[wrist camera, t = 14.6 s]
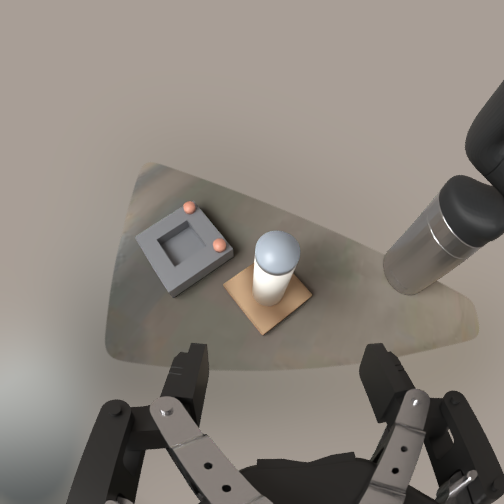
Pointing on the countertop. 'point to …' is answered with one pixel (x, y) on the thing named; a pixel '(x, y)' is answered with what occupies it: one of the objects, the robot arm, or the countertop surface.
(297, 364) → the countertop surface
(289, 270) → the ball
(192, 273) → the block
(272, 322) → the pad
